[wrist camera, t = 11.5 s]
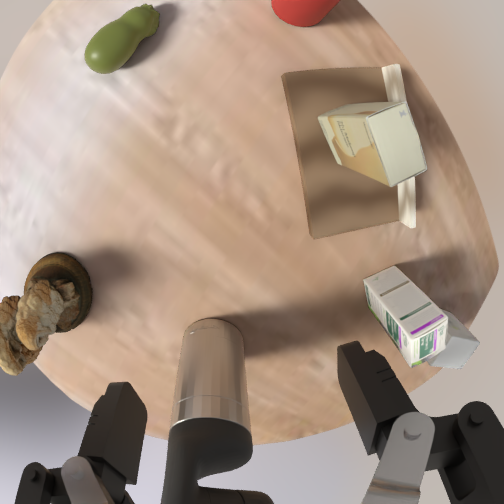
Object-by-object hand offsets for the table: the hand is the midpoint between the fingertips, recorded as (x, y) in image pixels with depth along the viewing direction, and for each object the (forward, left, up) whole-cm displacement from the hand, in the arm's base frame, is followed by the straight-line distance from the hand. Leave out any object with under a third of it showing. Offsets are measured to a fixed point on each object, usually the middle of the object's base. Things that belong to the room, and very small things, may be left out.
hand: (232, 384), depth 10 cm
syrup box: (-17, -20, -27) cm, 38 cm away
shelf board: (+4, -16, -27) cm, 31 cm away
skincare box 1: (+6, -14, -25) cm, 30 cm away
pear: (+23, +7, -27) cm, 37 cm away
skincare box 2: (-28, -31, -27) cm, 50 cm away
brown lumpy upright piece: (-7, +30, -27) cm, 42 cm away
